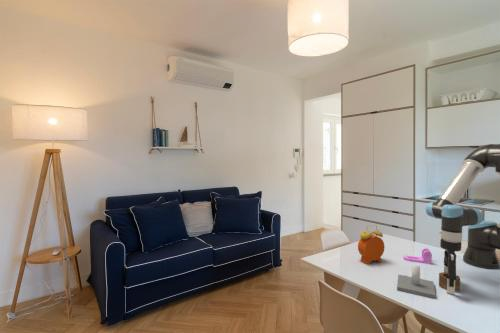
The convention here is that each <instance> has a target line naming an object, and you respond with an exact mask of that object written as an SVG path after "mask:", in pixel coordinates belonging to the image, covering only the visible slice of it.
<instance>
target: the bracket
mask: <svg viewBox="0 0 500 333" xmlns="http://www.w3.org/2000/svg"><path fill="white" fill-rule="evenodd" d="M432 258H433V254H432V252H431V250H430V249H429V248H428V247H424V248H422V250H421V256H413V255H407V254H406V255H403V260H404V261H407V262H413V263H419V264H425V265H427V264H428V265H432V260H433V259H432Z"/></svg>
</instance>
